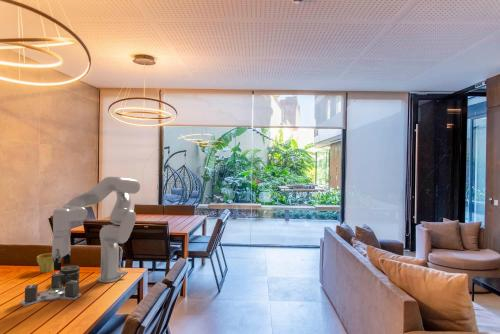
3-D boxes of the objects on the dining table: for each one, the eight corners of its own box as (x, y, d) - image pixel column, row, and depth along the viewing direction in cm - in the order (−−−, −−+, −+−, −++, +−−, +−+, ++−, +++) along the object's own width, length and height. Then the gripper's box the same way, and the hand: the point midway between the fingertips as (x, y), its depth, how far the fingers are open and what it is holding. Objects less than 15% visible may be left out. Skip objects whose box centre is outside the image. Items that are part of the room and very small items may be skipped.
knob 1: (26, 298, 155) (27, 284, 155) (37, 297, 157) (37, 283, 157) (24, 302, 151) (24, 287, 151) (35, 300, 153) (35, 286, 153)
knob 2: (60, 287, 170) (61, 274, 170) (51, 288, 169) (51, 275, 169) (62, 284, 175) (62, 271, 175) (52, 285, 173) (52, 272, 173)
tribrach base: (84, 283, 180) (84, 278, 180) (80, 299, 159) (80, 293, 159) (29, 289, 170) (29, 284, 170) (18, 307, 149) (18, 301, 149)
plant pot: (49, 274, 193) (49, 258, 193) (32, 273, 194) (32, 257, 194) (59, 268, 204) (60, 253, 204) (43, 268, 204) (44, 252, 204)
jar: (76, 283, 179) (76, 270, 179) (56, 285, 177) (57, 271, 177) (81, 277, 189) (81, 264, 189) (62, 278, 186) (62, 265, 186)
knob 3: (64, 296, 159) (65, 282, 159) (70, 292, 164) (71, 279, 164) (73, 296, 159) (73, 282, 159) (79, 293, 163) (79, 279, 163)
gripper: (62, 229, 167) (62, 261, 168) (44, 237, 150) (45, 273, 151) (77, 229, 168) (77, 261, 169) (61, 237, 151) (61, 273, 152)
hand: (62, 267), depth 160 cm, fingers open, 9 cm apart
